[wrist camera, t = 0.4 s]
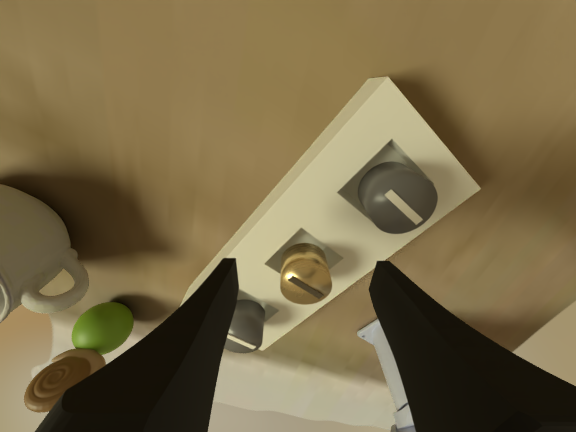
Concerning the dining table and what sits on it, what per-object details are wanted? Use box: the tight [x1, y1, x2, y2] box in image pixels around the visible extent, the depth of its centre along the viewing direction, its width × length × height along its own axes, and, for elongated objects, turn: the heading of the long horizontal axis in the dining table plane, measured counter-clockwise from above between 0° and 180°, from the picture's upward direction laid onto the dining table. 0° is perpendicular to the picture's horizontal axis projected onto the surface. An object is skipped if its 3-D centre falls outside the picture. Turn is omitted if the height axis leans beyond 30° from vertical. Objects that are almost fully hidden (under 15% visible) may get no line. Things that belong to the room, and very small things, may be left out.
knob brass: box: [280, 243, 332, 305], centre depth 19 cm, size 4×4×3 cm
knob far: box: [224, 299, 265, 353], centre depth 22 cm, size 4×4×3 cm
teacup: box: [0, 184, 89, 323], centre depth 19 cm, size 14×11×8 cm
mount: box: [180, 77, 481, 351], centre depth 21 cm, size 11×27×4 cm, turn 140°
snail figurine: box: [24, 302, 134, 412], centre depth 23 cm, size 5×6×12 cm
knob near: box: [358, 161, 438, 234], centre depth 15 cm, size 4×4×3 cm
